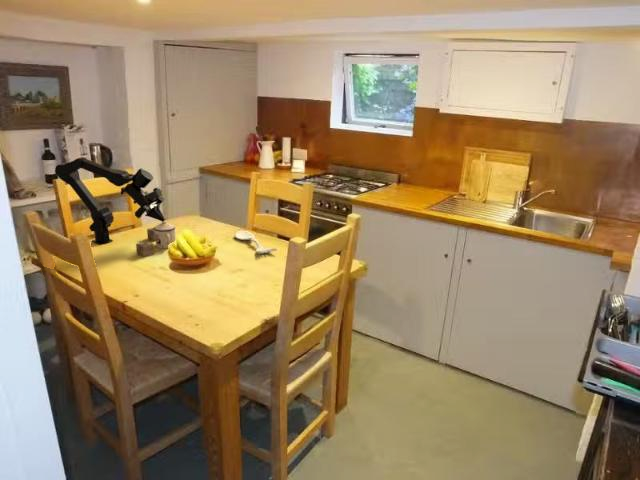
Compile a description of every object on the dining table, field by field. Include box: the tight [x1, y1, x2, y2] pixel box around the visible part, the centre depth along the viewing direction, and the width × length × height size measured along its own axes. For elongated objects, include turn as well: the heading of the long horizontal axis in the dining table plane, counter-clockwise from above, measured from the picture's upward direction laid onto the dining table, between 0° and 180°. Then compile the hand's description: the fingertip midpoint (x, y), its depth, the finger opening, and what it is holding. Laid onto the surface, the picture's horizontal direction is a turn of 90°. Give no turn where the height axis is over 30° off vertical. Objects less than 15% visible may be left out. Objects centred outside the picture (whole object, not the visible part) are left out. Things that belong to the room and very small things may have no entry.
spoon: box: [234, 230, 277, 254], centre depth 215 cm, size 9×32×4 cm, turn 32°
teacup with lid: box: [154, 220, 176, 250], centre depth 207 cm, size 12×9×12 cm
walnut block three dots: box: [146, 226, 156, 242], centre depth 217 cm, size 5×5×5 cm
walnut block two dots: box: [135, 240, 155, 259], centre depth 198 cm, size 5×5×5 cm
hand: (164, 220), depth 205 cm, fingers closed
